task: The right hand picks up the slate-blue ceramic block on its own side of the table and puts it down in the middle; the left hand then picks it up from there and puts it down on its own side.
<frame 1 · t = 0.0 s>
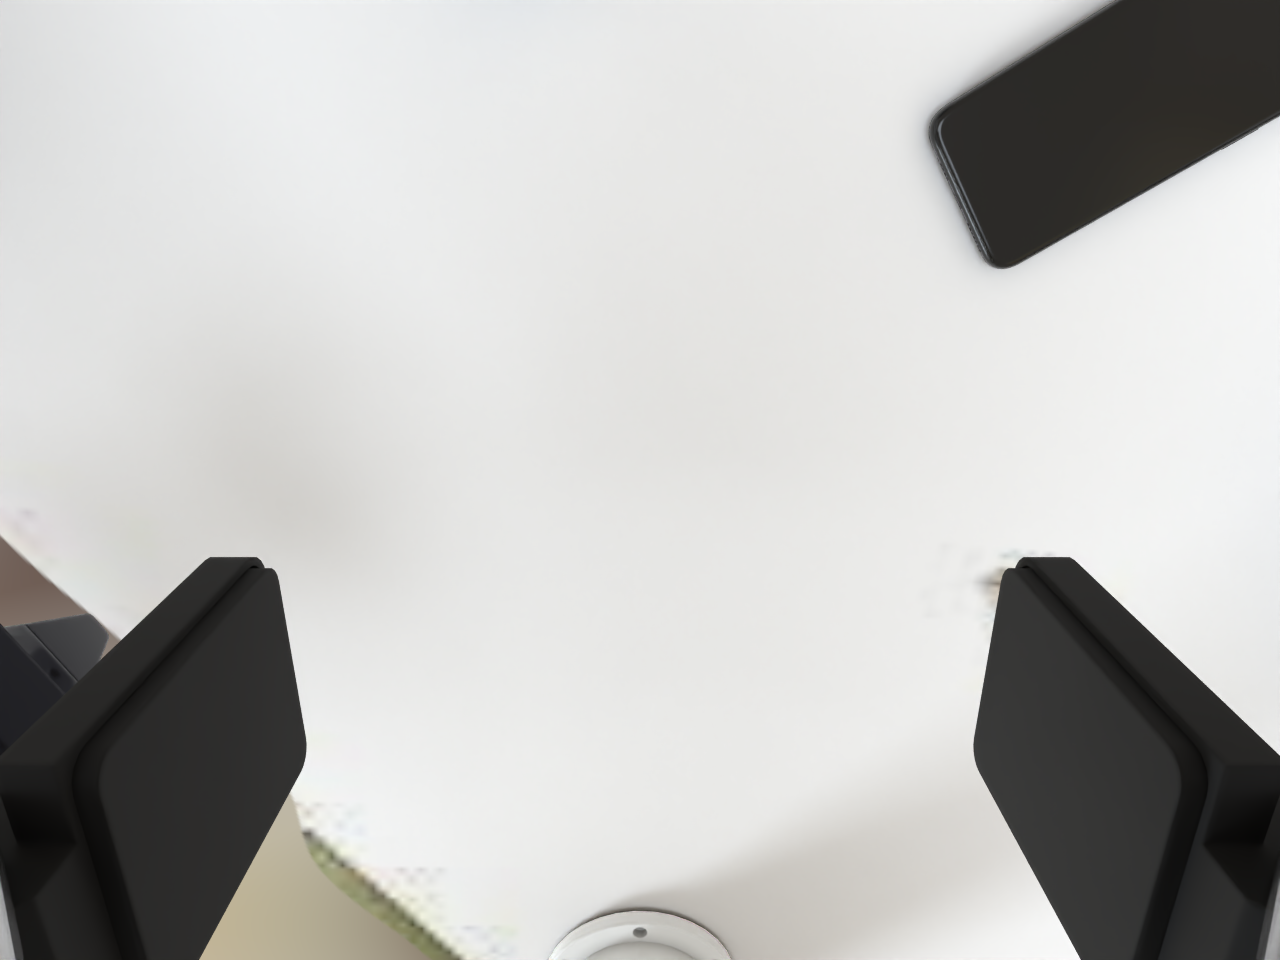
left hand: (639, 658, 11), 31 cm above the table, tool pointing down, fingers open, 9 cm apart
smartphone: (1122, 100, 37), on the table
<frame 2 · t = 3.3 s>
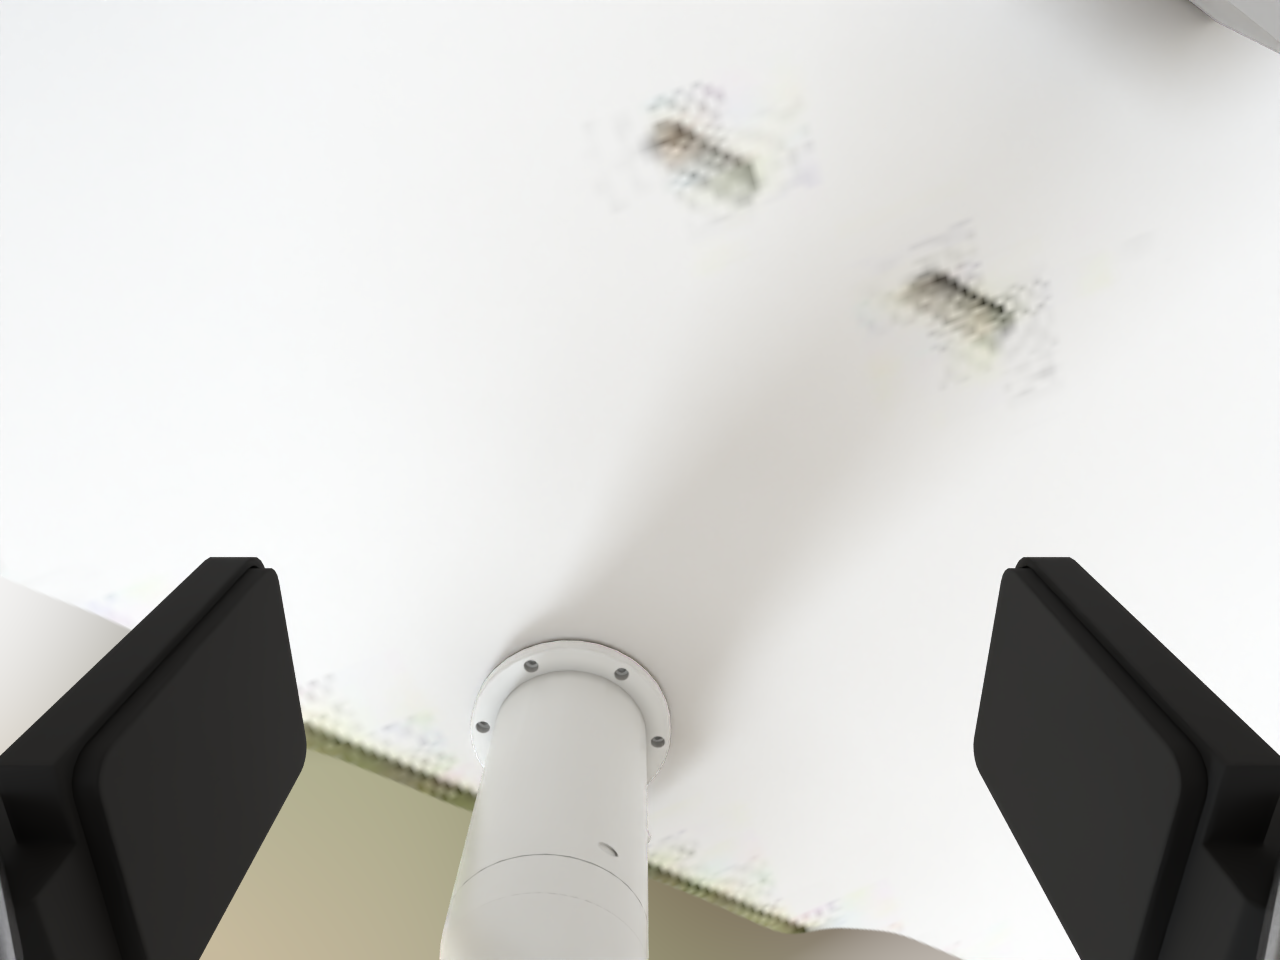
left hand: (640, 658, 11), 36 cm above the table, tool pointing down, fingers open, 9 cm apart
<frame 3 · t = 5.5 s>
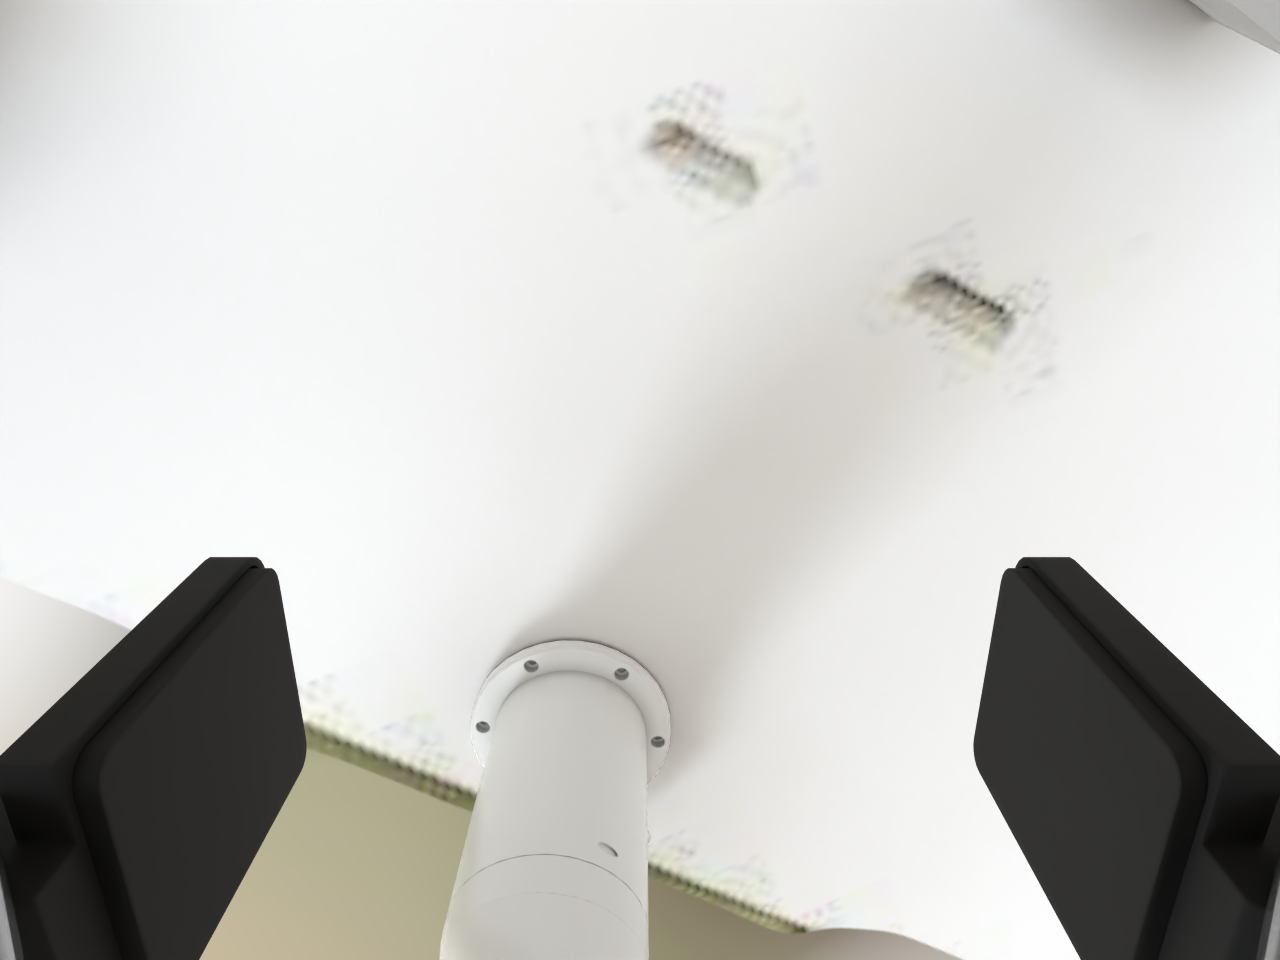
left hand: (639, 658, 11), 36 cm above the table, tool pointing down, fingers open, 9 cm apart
when the right hand's fingers open (2 cm above the table, at t = 7.9 s): block stays where it is, on the table.
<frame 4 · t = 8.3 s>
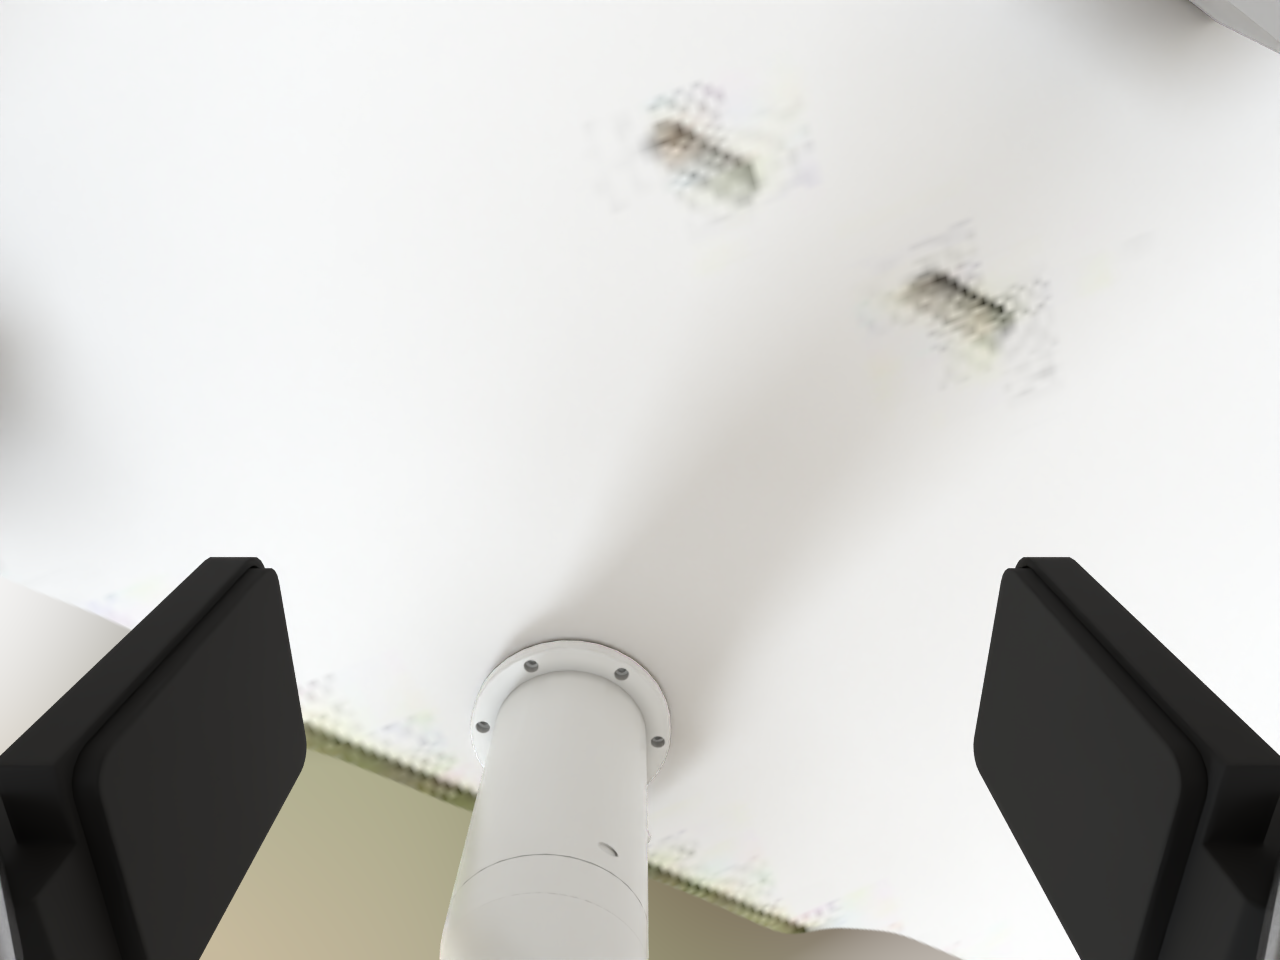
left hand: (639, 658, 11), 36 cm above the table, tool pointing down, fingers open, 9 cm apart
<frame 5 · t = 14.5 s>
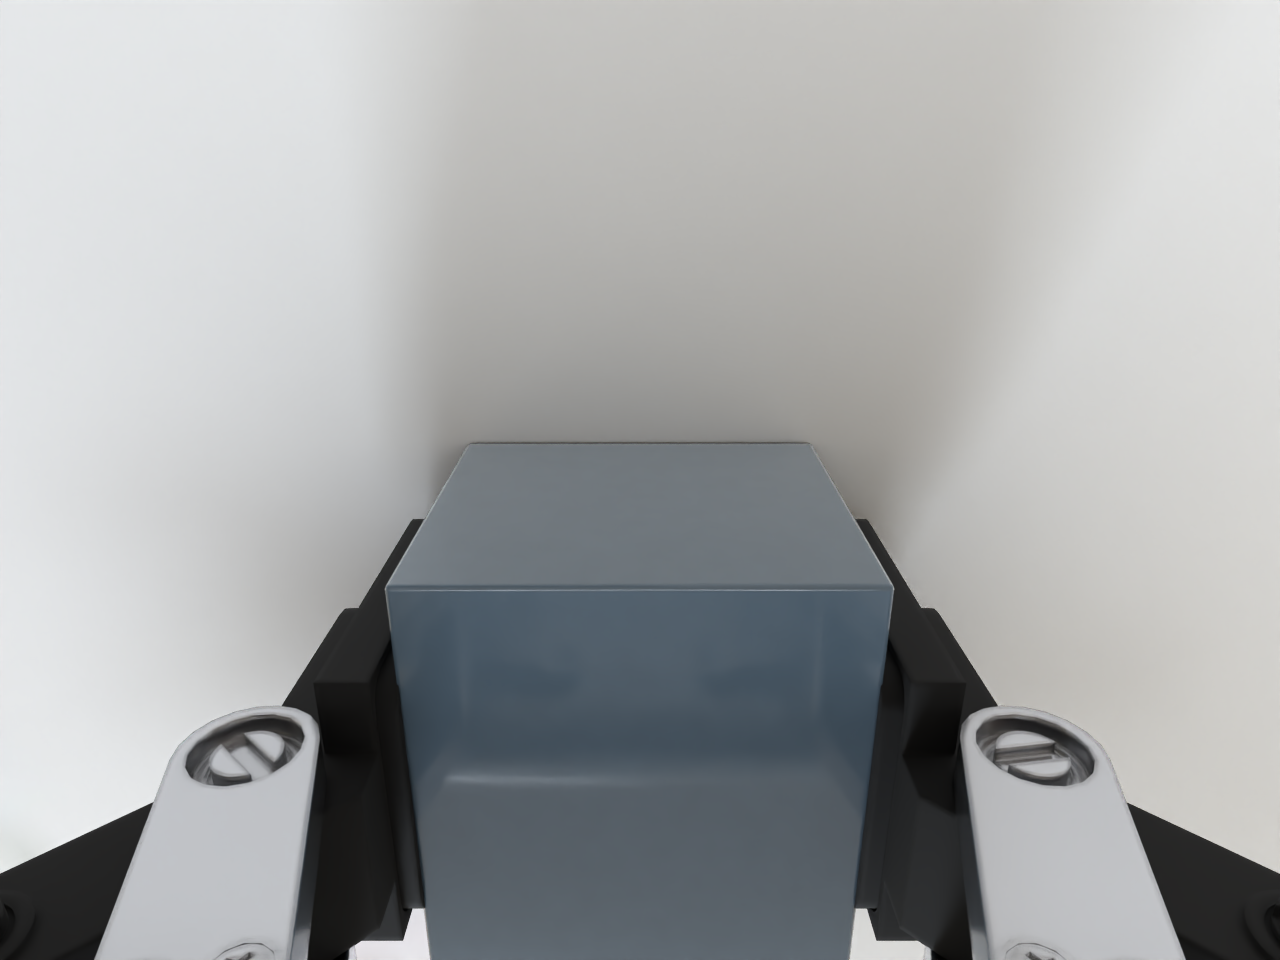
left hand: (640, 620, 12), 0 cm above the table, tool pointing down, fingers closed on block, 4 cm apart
block: (639, 602, 12), on the table, touching left hand
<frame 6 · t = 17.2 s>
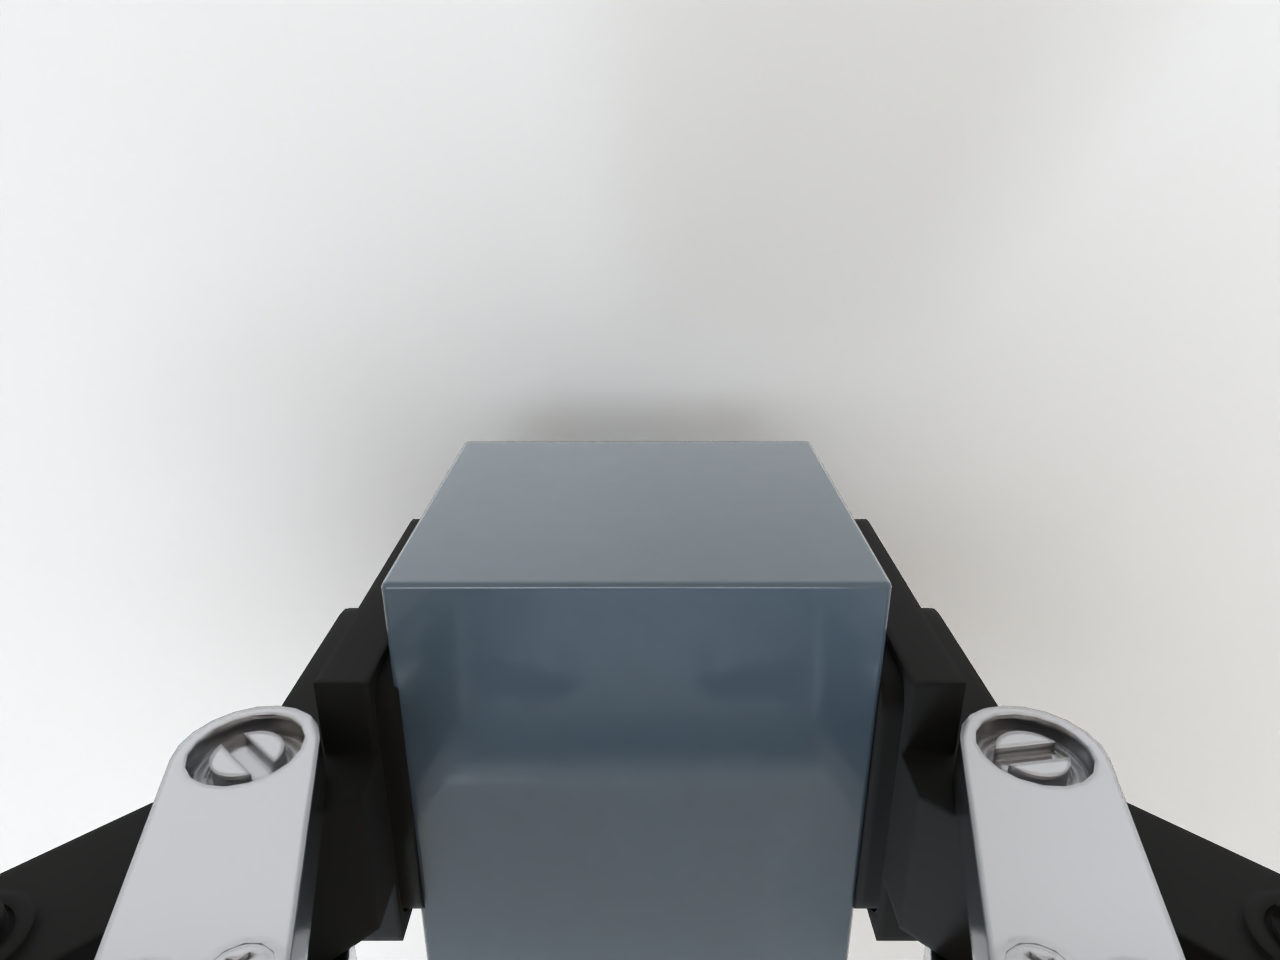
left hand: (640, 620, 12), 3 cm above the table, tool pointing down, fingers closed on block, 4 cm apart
block: (637, 601, 12), point 3 cm above the table, touching left hand
when the left hand's fingers open (1 cm above the table, at t = 20.1 s): block stays where it is, on the table.
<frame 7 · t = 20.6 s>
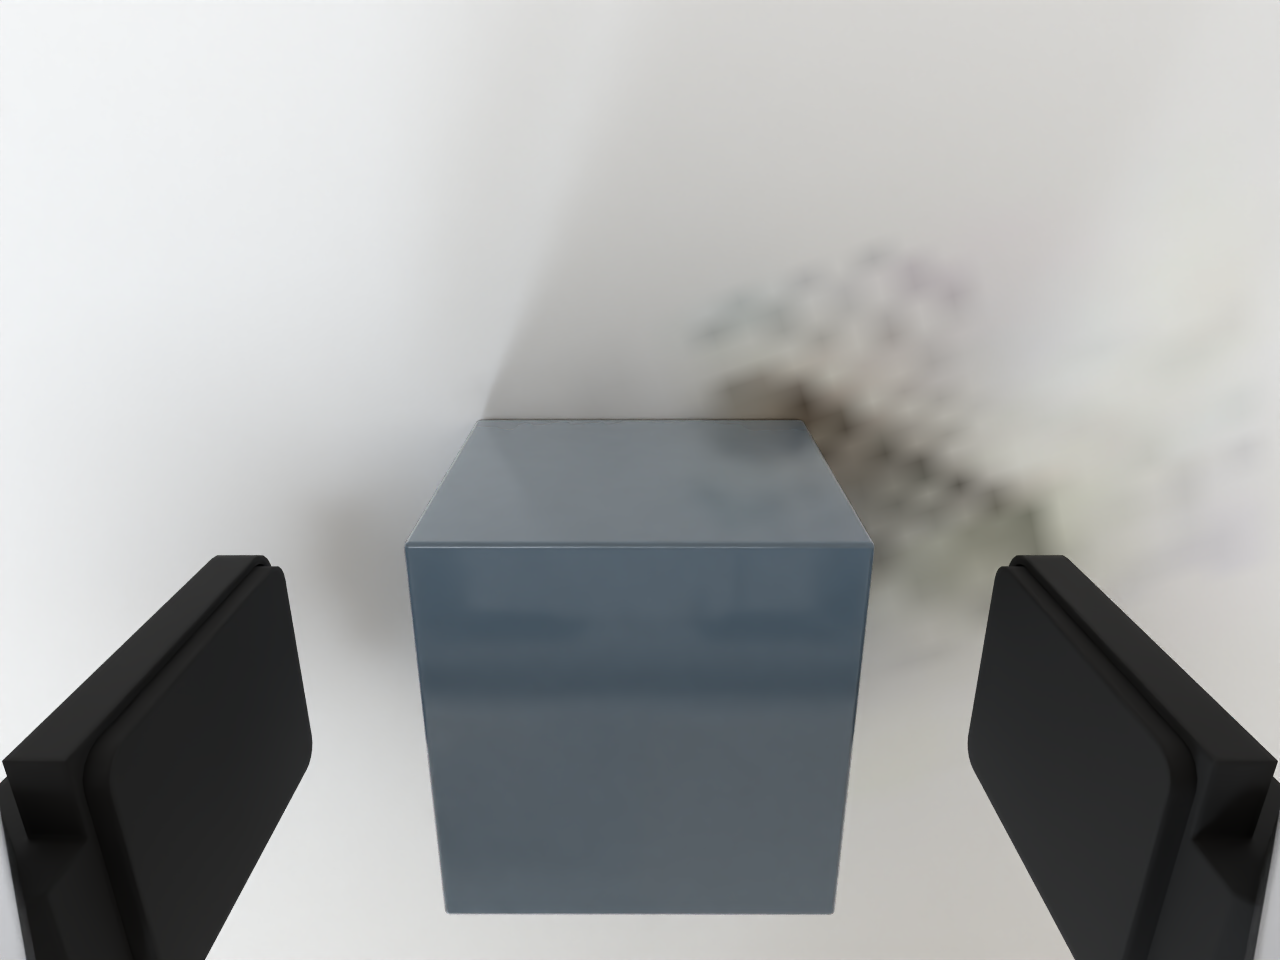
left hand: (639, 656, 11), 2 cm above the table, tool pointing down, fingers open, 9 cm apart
block: (640, 572, 13), on the table
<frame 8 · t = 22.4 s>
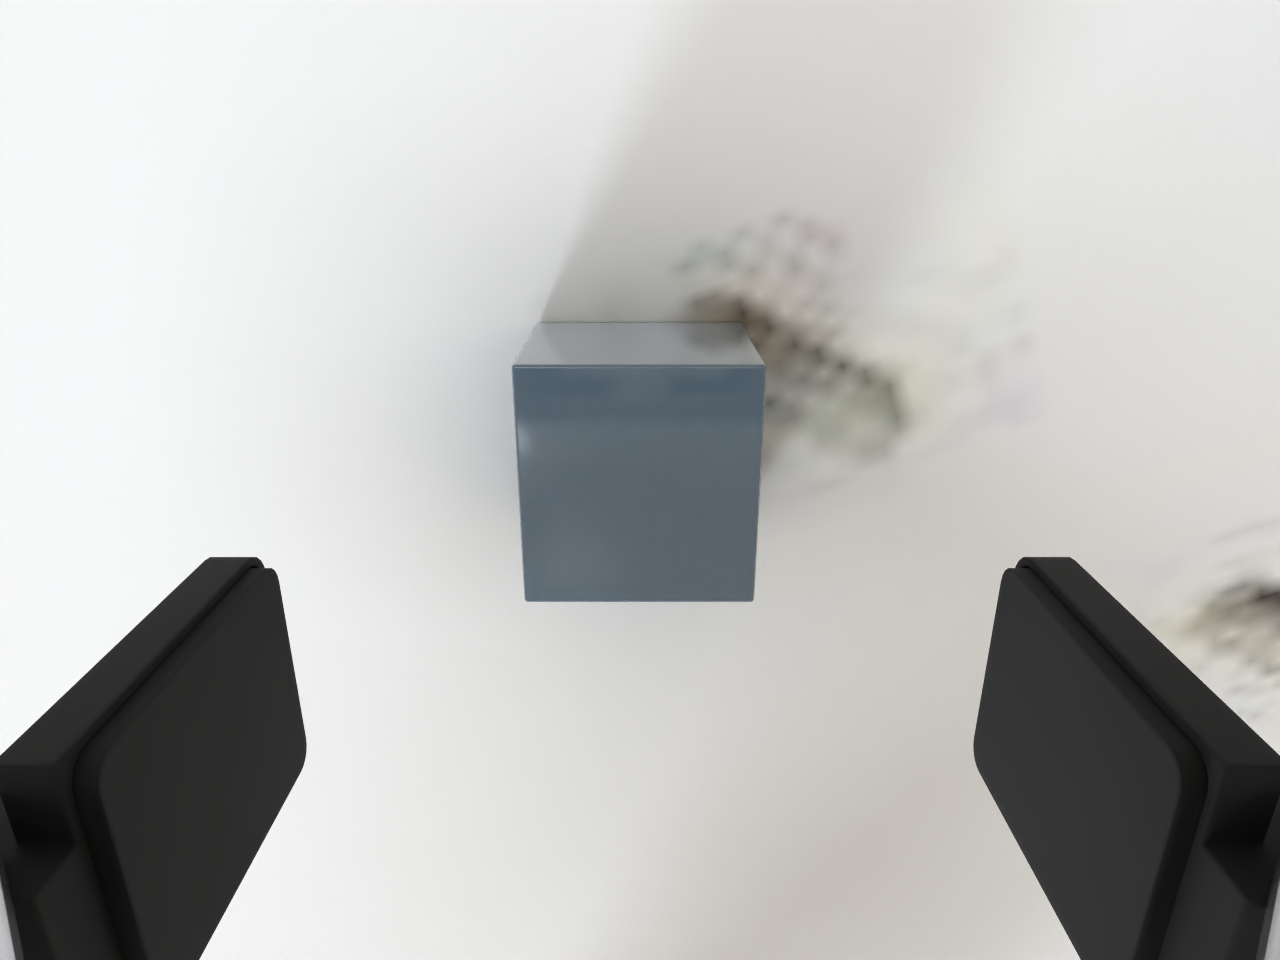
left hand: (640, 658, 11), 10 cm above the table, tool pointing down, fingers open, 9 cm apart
block: (639, 425, 20), on the table
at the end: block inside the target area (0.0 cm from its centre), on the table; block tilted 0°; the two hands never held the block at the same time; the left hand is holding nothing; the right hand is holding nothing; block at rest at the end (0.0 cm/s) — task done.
